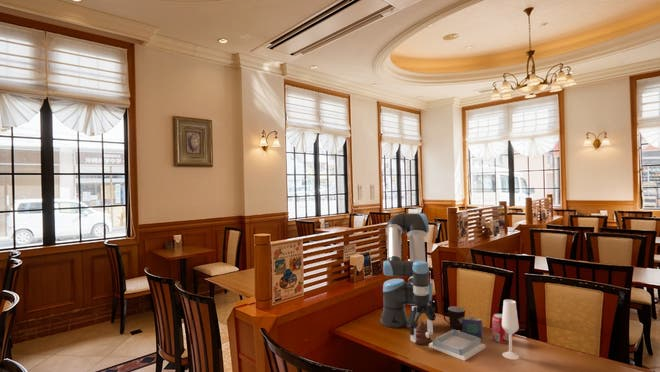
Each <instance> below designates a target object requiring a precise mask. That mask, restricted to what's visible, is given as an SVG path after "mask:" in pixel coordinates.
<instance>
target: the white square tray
mask: <svg viewBox="0 0 660 372" xmlns="http://www.w3.org/2000/svg"><path fill="white" fill-rule="evenodd" d="M481 340H482V338H479V337H476V336H473V335H470V334H467V333H464V332H463V331H462V330H460V331H458V330H454V329H451V330H449V331H447V332H445V333H443V334H441V335H438V336H437V337H434V338H433V339H432V341H431V342H430V343H429V342H428V347H429V348H431V347H432V349H433V348H434V350H435V351H438V352H440V353H444V354H445V355H446V354H447V355H449V356H451V357H453V358H456V359H458V360H462V361H464V362H465V361H467V360H468V359H470V358H471V357H473V356H474V355H477V354H478V353H480V352H481V351H483V350H484V349H486V344H484V343H482V342H481Z"/></svg>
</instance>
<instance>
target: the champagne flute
mask: <svg viewBox="0 0 660 372" xmlns="http://www.w3.org/2000/svg"><path fill="white" fill-rule="evenodd" d="M502 304H503V305H502V313H501V314H502V327H503V329H504V330H505V331H506V332H507V333H508V351H505V352H502V354H501V355H502V356H503V357H504V358H506V359H509V360H519V359H520V356H519V355H518V354H517V353H515V352H513V334H515V333H517V332H518V330H519V329H520V326H519V319H518V310H517V302H516V300H513V299H504V300H503V303H502Z"/></svg>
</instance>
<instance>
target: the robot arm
mask: <svg viewBox="0 0 660 372" xmlns="http://www.w3.org/2000/svg"><path fill="white" fill-rule="evenodd" d="M429 227H430V225H429V220H428V217H427V215H426V214H425V213H419V212H415V213H414V212H413V213H408V212H407V213H402V212H400V213H397V214H394V215H393V216H392V217H391V218H390V219H389V220H388V221H387V223H386V226H385V232H386V235H387V244H386V245H387V249H386V250H387V251H386V253H387V254H386V256H387V257H386V259H387V260H383V263H382V264H383V265H382V266H383V267H382V269H383V271H382V272H383V275H384V276H388V277H389V276H390V277H409V278H408V279H407V281H408V282H405V279H403V278H391V279H388V280H386V281H384V282H383V285H382V292H383V299H382V300H383V309H382V312H381V316H380V323H381V325H383V326H385V327H388V328H392V329H393V328H397V329H399V328H404V327H406V328H409V335H410V336H409V337H410V341H411V342H413V343H414V342H416V327H417V326H416V325H417V323H418V320H419V318H420V317H421V316H422V314H425V316H426V317H427V320H426V322H427V324H426V325H427V326H426V327H427V328H426V329H427V330H430V331H431V335H433V334H434V322H435V321H436V317H437V316H436V312H435V311H434V307H433V304H432V299H433V290H434V284H433V283H432V282H431V281H430V277H429V276H430V275H429V274H430V273H429V271H430V269H429V268H430V267H429V263H428V262H427V261H426V247H425V245H426V244H425V237H427V235H428V233H429V231H430V228H429ZM403 233H406V236H407V237H408V238H409V259H410V260H409V261H408V260H402V237H401V236H402V234H403ZM406 305H407V306H408V305H410V312H409V314H408V316H407V312H406Z"/></svg>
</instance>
